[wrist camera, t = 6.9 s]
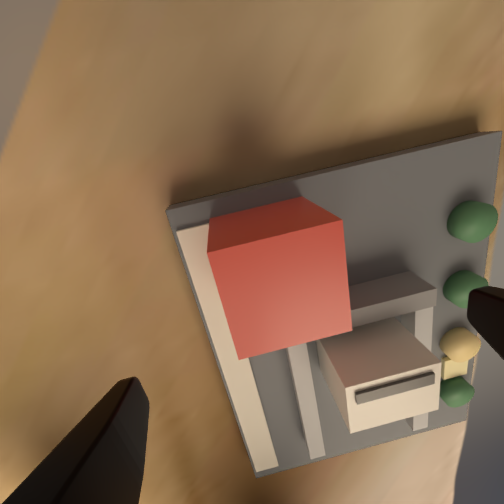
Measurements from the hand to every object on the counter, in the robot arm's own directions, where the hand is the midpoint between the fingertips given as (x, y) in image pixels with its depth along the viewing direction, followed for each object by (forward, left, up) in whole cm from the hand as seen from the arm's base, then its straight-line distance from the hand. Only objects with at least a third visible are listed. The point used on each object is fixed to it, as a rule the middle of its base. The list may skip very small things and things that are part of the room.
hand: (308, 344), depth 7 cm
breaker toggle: (-7, -4, -7) cm, 10 cm away
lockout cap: (0, 0, -7) cm, 7 cm away
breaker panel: (-7, -4, -8) cm, 11 cm away
